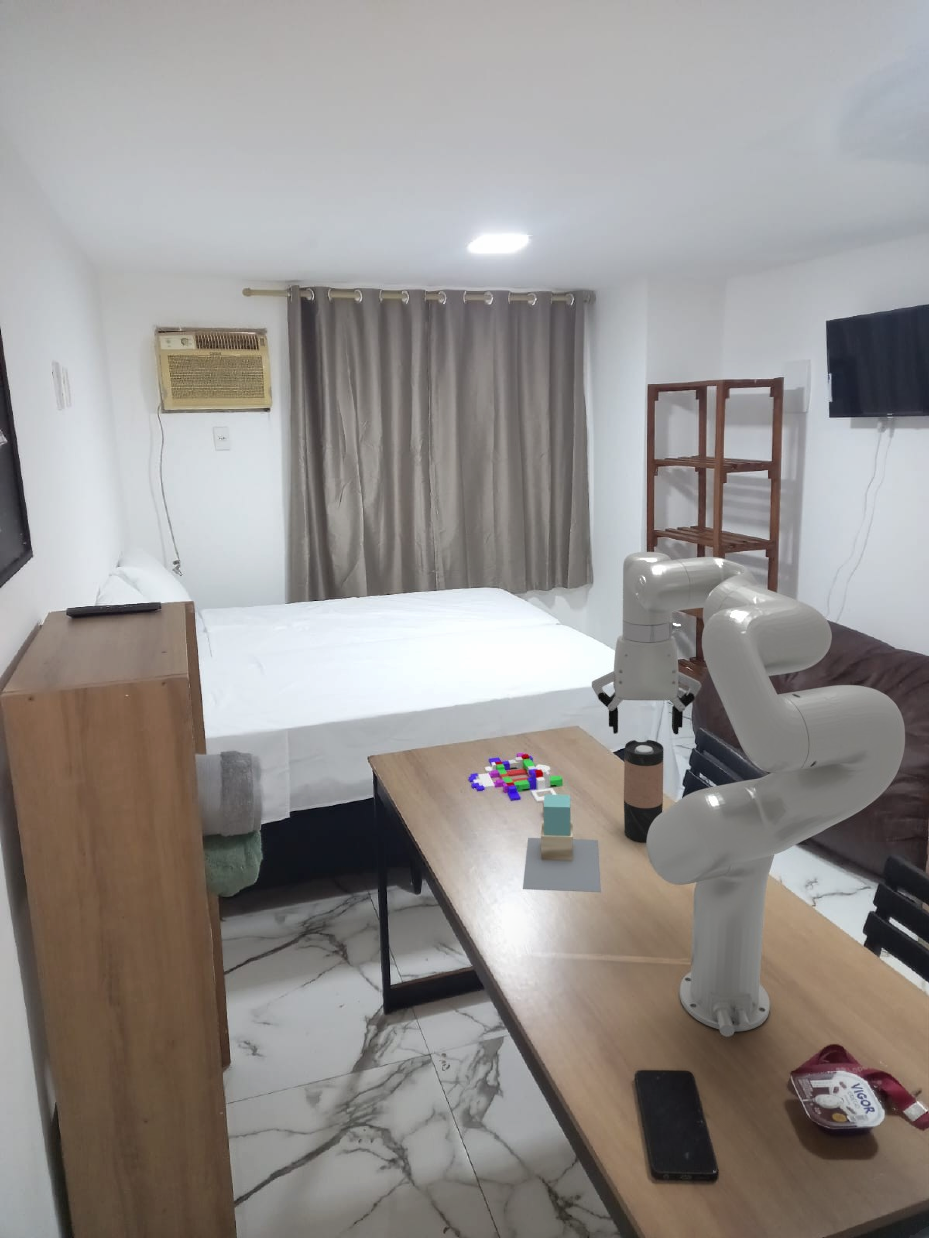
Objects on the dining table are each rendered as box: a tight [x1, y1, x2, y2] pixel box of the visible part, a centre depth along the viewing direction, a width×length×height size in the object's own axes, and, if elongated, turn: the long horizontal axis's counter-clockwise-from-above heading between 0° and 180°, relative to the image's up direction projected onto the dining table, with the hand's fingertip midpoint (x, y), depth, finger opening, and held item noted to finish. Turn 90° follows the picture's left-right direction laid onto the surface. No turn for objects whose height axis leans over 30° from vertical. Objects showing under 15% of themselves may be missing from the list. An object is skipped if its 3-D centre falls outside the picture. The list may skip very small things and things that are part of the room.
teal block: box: [543, 794, 572, 836], centre depth 156 cm, size 5×5×6 cm
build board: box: [522, 837, 602, 893], centre depth 154 cm, size 18×14×1 cm
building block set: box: [467, 752, 564, 804], centre depth 191 cm, size 25×20×4 cm
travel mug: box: [623, 739, 664, 844], centre depth 161 cm, size 8×8×20 cm
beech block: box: [540, 820, 574, 861], centre depth 158 cm, size 6×6×5 cm
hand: (645, 730), depth 133 cm, fingers open, 9 cm apart
